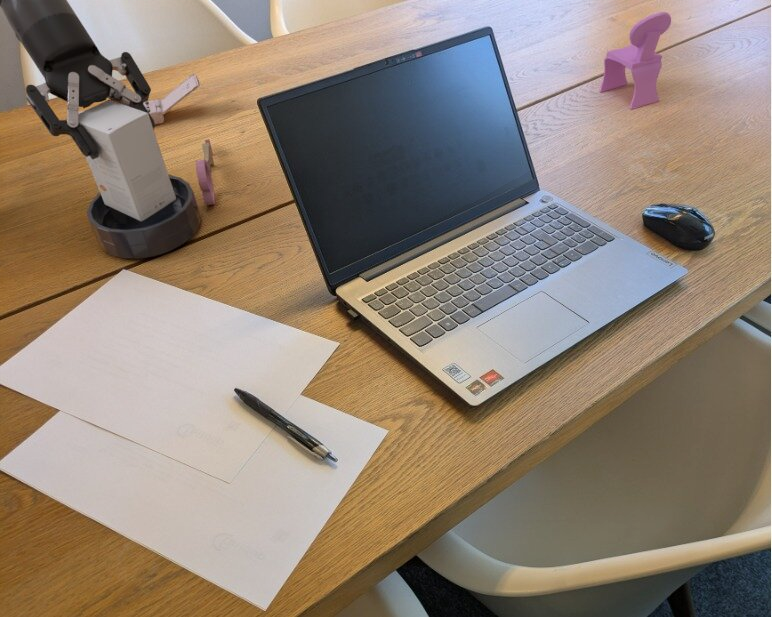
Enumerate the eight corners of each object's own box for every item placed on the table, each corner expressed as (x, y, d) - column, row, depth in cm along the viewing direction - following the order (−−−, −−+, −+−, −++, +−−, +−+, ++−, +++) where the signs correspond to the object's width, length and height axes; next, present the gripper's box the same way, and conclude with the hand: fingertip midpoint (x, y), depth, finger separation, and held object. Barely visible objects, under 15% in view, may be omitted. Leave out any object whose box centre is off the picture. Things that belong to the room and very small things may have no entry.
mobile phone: (200, 85, 116) (50, 112, 110) (208, 116, 120) (63, 144, 114) (196, 72, 120) (51, 98, 115) (203, 103, 124) (64, 129, 118)
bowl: (129, 276, 87) (117, 245, 84) (82, 232, 95) (69, 203, 91) (220, 228, 94) (212, 199, 90) (169, 191, 102) (160, 163, 98)
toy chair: (628, 81, 122) (646, -4, 112) (663, 99, 116) (685, 11, 106) (592, 92, 119) (607, 5, 109) (626, 111, 114) (645, 21, 103)
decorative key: (218, 162, 113) (214, 210, 96) (210, 163, 113) (205, 211, 96) (209, 123, 109) (203, 166, 93) (201, 124, 109) (194, 167, 93)
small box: (177, 199, 91) (149, 112, 82) (141, 223, 87) (108, 134, 78) (139, 183, 95) (109, 97, 86) (103, 204, 91) (67, 118, 82)
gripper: (-11, 30, 75) (72, 155, 77) (105, -5, 82) (178, 111, 84) (-7, 63, 82) (69, 178, 84) (100, 29, 89) (168, 135, 91)
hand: (124, 144), depth 84 cm, fingers closed on small box, 7 cm apart
